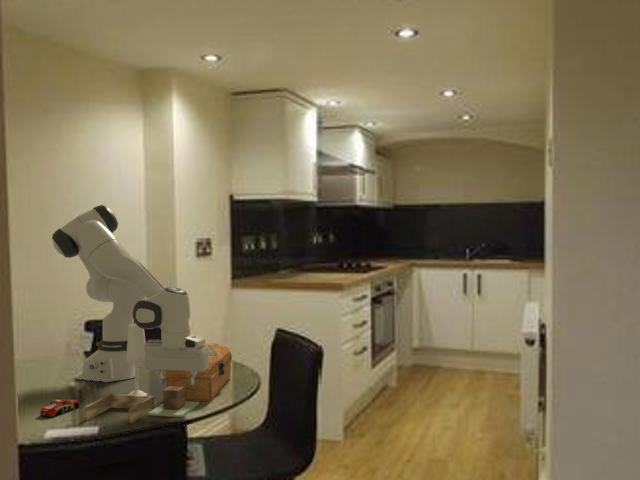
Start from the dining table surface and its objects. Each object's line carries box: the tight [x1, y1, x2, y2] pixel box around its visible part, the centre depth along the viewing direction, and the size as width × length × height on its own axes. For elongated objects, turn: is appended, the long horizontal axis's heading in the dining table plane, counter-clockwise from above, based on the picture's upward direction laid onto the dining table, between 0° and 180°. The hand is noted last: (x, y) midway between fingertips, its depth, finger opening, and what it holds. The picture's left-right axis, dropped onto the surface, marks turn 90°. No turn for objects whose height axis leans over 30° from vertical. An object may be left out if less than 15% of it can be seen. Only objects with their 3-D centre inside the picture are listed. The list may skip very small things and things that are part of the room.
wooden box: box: [165, 342, 232, 402], centre depth 218 cm, size 30×16×14 cm, turn 175°
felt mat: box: [147, 401, 200, 418], centre depth 194 cm, size 11×14×1 cm
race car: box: [39, 398, 80, 417], centre depth 192 cm, size 13×5×4 cm, turn 158°
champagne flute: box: [126, 322, 148, 396], centre depth 210 cm, size 7×7×24 cm
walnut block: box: [162, 386, 185, 410], centre depth 194 cm, size 5×5×6 cm
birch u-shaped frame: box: [84, 393, 155, 424], centre depth 189 cm, size 15×14×4 cm
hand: (176, 383), depth 194 cm, fingers open, 8 cm apart
